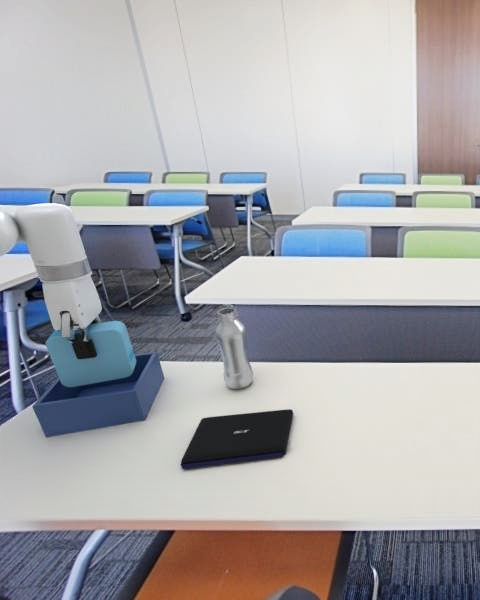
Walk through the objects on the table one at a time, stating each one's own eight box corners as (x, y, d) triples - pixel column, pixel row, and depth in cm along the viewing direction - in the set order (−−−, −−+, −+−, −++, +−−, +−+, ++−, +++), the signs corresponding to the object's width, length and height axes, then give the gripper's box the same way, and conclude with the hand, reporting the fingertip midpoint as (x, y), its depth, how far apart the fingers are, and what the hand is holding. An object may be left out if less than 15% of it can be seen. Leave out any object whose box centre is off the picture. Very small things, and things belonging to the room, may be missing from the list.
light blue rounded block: (138, 366, 91) (123, 319, 86) (134, 376, 87) (119, 328, 83) (70, 378, 86) (50, 328, 81) (63, 389, 82) (42, 338, 78)
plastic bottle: (226, 395, 94) (211, 319, 87) (224, 380, 100) (209, 308, 92) (256, 387, 98) (244, 314, 90) (252, 374, 103) (240, 303, 95)
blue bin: (45, 437, 79) (31, 406, 77) (81, 389, 94) (70, 362, 91) (145, 420, 85) (135, 391, 82) (164, 378, 99) (157, 351, 96)
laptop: (279, 469, 75) (278, 461, 74) (168, 471, 73) (165, 462, 73) (302, 414, 90) (301, 407, 89) (210, 414, 88) (208, 407, 87)
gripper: (60, 258, 83) (87, 335, 90) (13, 286, 68) (50, 375, 76) (105, 255, 85) (128, 330, 93) (69, 283, 71) (99, 369, 78)
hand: (92, 350), depth 84 cm, fingers closed on light blue rounded block, 4 cm apart
